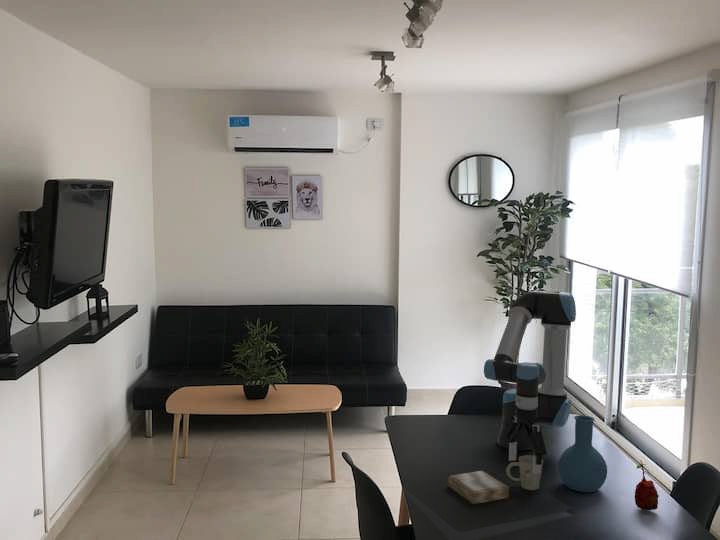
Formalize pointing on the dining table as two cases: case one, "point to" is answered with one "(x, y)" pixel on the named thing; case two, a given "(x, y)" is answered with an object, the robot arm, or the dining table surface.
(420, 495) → the dining table surface
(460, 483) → the plinth
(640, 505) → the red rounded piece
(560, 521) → the dining table surface
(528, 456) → the mug
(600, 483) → the vase
